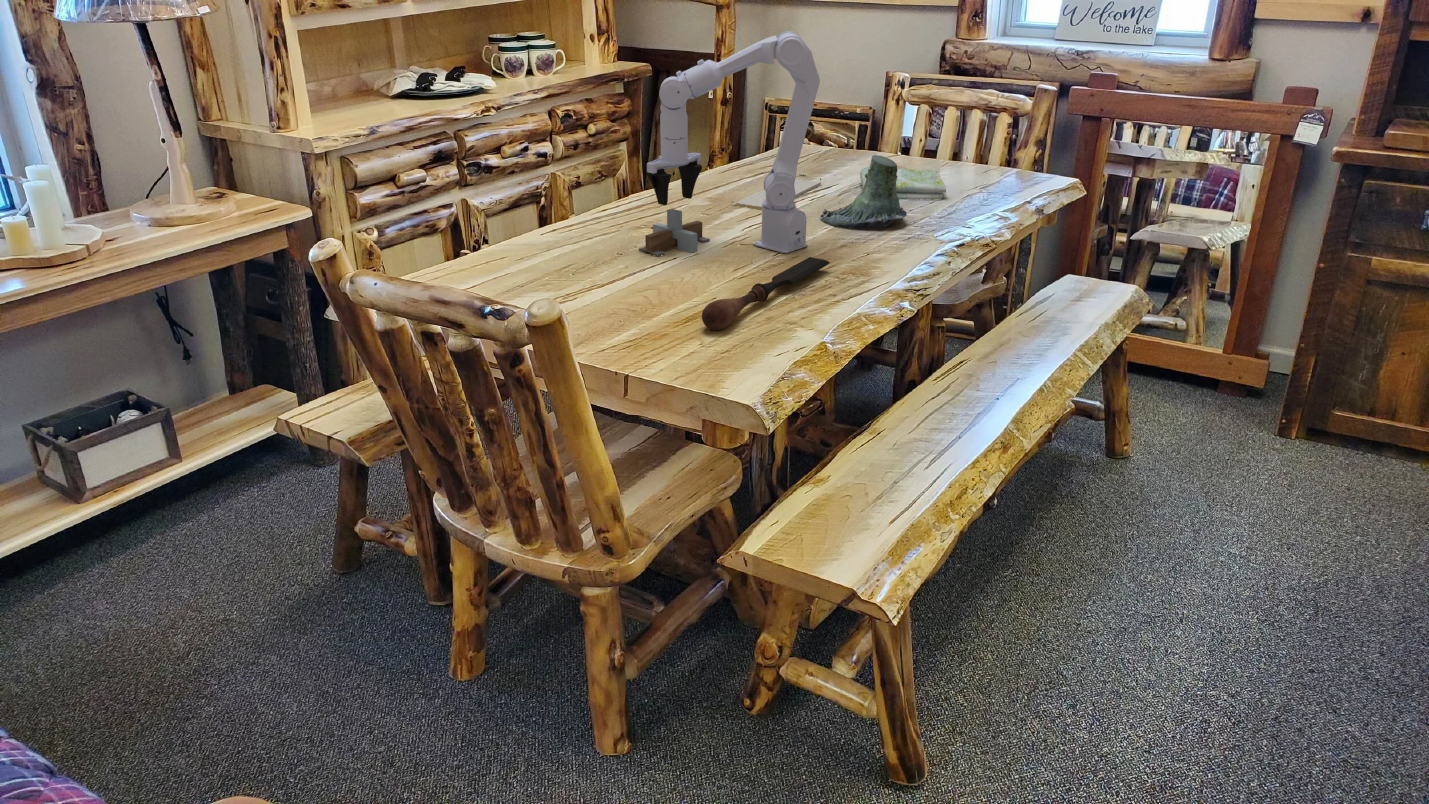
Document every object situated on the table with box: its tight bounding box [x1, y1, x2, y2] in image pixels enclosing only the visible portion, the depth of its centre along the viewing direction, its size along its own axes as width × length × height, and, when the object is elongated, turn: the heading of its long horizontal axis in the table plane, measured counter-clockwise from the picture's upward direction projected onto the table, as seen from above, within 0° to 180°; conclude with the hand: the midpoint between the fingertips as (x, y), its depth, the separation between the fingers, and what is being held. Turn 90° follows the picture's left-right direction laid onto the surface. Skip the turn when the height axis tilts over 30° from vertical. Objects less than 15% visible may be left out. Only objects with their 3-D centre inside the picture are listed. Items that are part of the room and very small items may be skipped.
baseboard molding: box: [730, 174, 822, 211], centre depth 265 cm, size 31×3×12 cm
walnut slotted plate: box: [638, 220, 711, 258], centre depth 223 cm, size 6×16×4 cm, turn 137°
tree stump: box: [819, 154, 908, 230], centre depth 240 cm, size 18×20×18 cm
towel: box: [859, 165, 947, 200], centre depth 268 cm, size 18×21×5 cm
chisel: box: [701, 256, 831, 331], centre depth 192 cm, size 5×43×5 cm, turn 148°
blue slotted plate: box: [652, 208, 698, 254], centre depth 222 cm, size 12×2×8 cm, turn 47°
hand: (675, 201), depth 220 cm, fingers open, 7 cm apart
